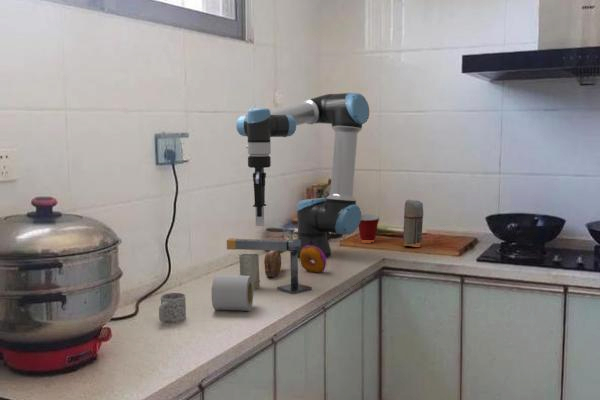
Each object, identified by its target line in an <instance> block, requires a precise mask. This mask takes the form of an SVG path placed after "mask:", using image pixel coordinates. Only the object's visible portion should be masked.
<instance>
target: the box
mask: <svg viewBox="0 0 600 400" xmlns="http://www.w3.org/2000/svg"><path fill="white" fill-rule="evenodd" d="M238 257H239V260H238V261H239V276H251V277H252V279H253V288H254V290H255V289H258V288H261V283H260V281H261V280H260V263H259V262H260V260H259V259H260V258H259V257H260V256H259V254H257V253H249V252H247V253H242V254H239V255H238Z"/></svg>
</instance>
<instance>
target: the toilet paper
mask: <svg viewBox="0 0 600 400" xmlns="http://www.w3.org/2000/svg"><path fill="white" fill-rule="evenodd" d="M254 290H255V289H254V288H253V279H252V277H251V276H240V275H236V274H235V275H232V274H231V275H229V274H227V275H226V274H224V275H223V274H216V275H215V276H214V277H213V281H212V284H211V304H212V308H213V309H214V310H215V311H219V310H220V311H224V310H225V311H245V312H246V311H247V312H248V311H249V312H250V311H251V310H252V306H253V303H254V293H255V292H254Z"/></svg>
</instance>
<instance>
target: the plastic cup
mask: <svg viewBox="0 0 600 400" xmlns="http://www.w3.org/2000/svg"><path fill="white" fill-rule="evenodd" d="M380 219H381V216H380V215H379V214H373V213H365V214H364V213H363V214H361V221H360V224H359V226H358V233H359V235H360V236H359V237H360V240H361V239H362V240H374V239H375V240H376V236H377V230H378V224H379V222H380Z"/></svg>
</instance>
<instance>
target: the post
mask: <svg viewBox="0 0 600 400" xmlns="http://www.w3.org/2000/svg"><path fill="white" fill-rule="evenodd" d="M289 255H290V257H289V261H290V262H289V264H290V269H289V270H290V283H289V284H284V285H280V286H277V287H276V290H278V291H281V292H285V293H288V294H292V295H295V294H296V295H297V294H299V293H304V292H307V291H308V292H309V291H311V290H312V289H313V287H312V286H308V285H305V284H302V283H300V282H299V260H298V259H299V258H298V251H294V252H293V251H289Z"/></svg>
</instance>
